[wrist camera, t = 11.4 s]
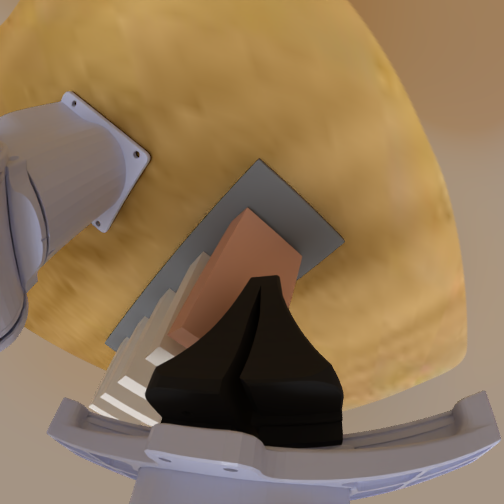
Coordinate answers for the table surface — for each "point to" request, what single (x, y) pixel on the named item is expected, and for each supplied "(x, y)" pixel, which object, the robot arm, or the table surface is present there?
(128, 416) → the domino
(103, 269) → the table surface
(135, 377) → the domino
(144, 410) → the domino
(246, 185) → the mat
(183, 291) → the domino
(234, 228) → the domino
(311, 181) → the table surface
